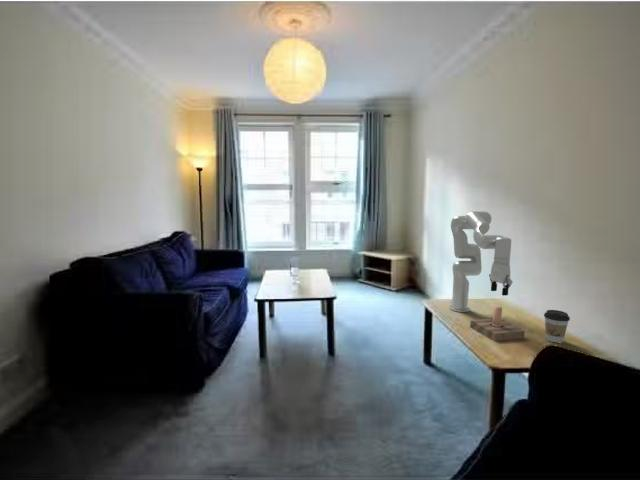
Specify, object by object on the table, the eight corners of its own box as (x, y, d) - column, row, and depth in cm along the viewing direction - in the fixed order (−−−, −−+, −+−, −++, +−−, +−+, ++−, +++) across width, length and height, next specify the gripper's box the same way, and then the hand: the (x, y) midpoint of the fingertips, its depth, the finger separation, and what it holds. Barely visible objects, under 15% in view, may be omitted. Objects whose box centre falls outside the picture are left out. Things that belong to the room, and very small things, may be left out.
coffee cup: (540, 341, 194) (543, 313, 192) (542, 335, 204) (545, 307, 202) (567, 347, 188) (570, 317, 186) (567, 339, 197) (570, 311, 195)
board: (470, 327, 214) (470, 320, 213) (497, 324, 218) (498, 318, 217) (494, 340, 194) (494, 333, 194) (524, 338, 199) (524, 330, 198)
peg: (490, 331, 208) (491, 306, 206) (496, 330, 209) (498, 305, 207) (495, 334, 204) (497, 308, 202) (502, 333, 205) (504, 308, 203)
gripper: (484, 257, 208) (482, 289, 211) (507, 264, 192) (504, 297, 194) (496, 257, 210) (494, 288, 213) (520, 263, 193) (517, 297, 196)
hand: (499, 292), depth 203 cm, fingers open, 8 cm apart
